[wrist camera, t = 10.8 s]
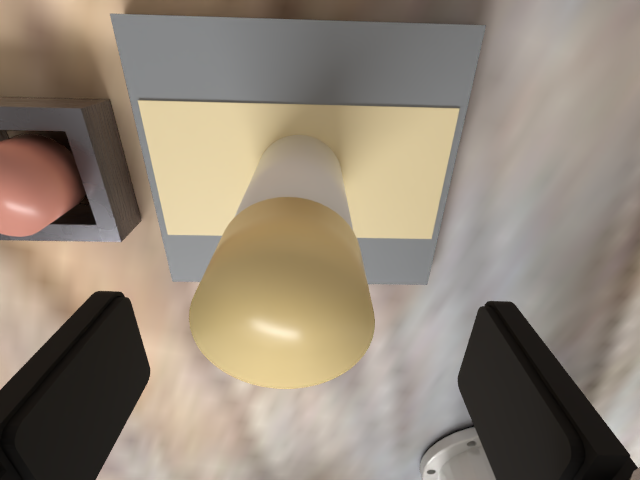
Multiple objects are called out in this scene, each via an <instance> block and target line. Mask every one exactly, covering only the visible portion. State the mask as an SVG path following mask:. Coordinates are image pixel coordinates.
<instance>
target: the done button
mask: <svg viewBox="0 0 640 480" xmlns="http://www.w3.org/2000/svg"><path fill="white" fill-rule="evenodd" d="M85 195H86V191H85V188H84V185H83V182H82V179H81V176H80V173H79V171H78V168H77V165H76V162H75V159H74V156H73V154H72V153H71V152H70V151H69V150H68V149H67V148H66V147H64V146H63V145H61V144H60V143H58V142H57V141H55V140H53V139H50V138H48V137H45V136H42V135H37V134H22V135H18V136H15V137H12V138H9V139H6V140H3V141H0V234H4V235H8V236H16V237H23V236H30V235H33V234H35V233H37V232H39V231H40V230H42V229H43V228H45V227H46V226H48V225H49V224H50V223H52V222H53V221H55V220H56V219H58V218H59V217H60V216H62V215H63V214H65V213H66V212H67V211H69V210H70V209H72V208H73V207H75V206H76V205H77V204H79V203H80V202H81V201H82V200H83V198H84V197H85Z"/></svg>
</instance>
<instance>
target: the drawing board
mask: <svg viewBox="0 0 640 480" xmlns="http://www.w3.org/2000/svg"><path fill="white" fill-rule="evenodd" d="M110 16H111V21H112V25H113V29H114V33H115V38H116V42H117V46H118V51H119V55H120V59H121V63H122V68H123V72H124V76H125V80H126V85H127V89H128V93H129V98H130V102H131V106H132V110H133V115H134V119H135V123H136V128H137V132H138V136H139V140H140V145H141V149H142V153H143V157H144V162H145V166H146V170H147V175H148V179H149V183H150V187H151V192H152V196H153V200H154V204H155V209H156V213H157V217H158V222H159V226H160V230H161V234H162V239H163V243H164V247H165V251H166V256H167V260H168V264H169V269H170V273H171V277H172V281H174V282H201V279H202V277H203V275H204V273H205V271H206V269H207V267H208V265H209V263H210V260H211V258H212V256H213V254H214V252H215V250H216V248H217V246H218V243H219V241H220V239H221V237H222V235H223V233H224V231H225V229H226V227H227V226H228V224H229V223H230V222H231V221H232V220H233V218H234V217H235V215H236V212H237V210H238V208H239V206H240V203H241V201H242V199H243V197H244V195H245V192H246V190H247V188H248V186H249V184H250V181H251V179H252V177H253V175H254V172H255V170H256V168H257V166H258V164H259V161H260V159H261V157H262V155H263V153H264V152H265V151H266V149H267V148H268V147H269V146H270V145H271V144H272V143H274V142H275V141H277V140H279V139H281V138H283V137H286V136H290V135H307V136H311V137H314V138H317V139H318V140H320V141H322V142H323V143H325V144H326V145H327V146H328V147H330V148H331V150H332V151H333V152H334V153H335V155H336V157H337V159H338V161H339V163H340V167H341V172H342V177H343V182H344V187H345V192H346V197H347V202H348V207H349V212H350V217H351V222H352V227H353V232H354V233H355V236H356V238H357V240H358V243H359V246H360V251H361V255H362V260H363V265H364V269H365V274H366V279H367V283H368V284H410V285H427V284H428V279H429V275H430V270H431V266H432V262H433V257H434V253H435V248H436V244H437V240H438V235H439V231H440V226H441V222H442V217H443V213H444V209H445V204H446V200H447V195H448V191H449V187H450V182H451V178H452V173H453V169H454V164H455V160H456V156H457V151H458V147H459V142H460V138H461V134H462V129H463V125H464V120H465V116H466V111H467V107H468V103H469V98H470V94H471V89H472V85H473V81H474V76H475V72H476V67H477V63H478V59H479V54H480V50H481V45H482V41H483V36H484V32H485V28H486V25H461V24H428V23H396V22H364V21H331V20H299V19H266V18H234V17H202V16H169V15H137V14H110Z"/></svg>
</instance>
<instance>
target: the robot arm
mask: <svg viewBox="0 0 640 480" xmlns="http://www.w3.org/2000/svg"><path fill="white" fill-rule="evenodd" d="M149 377H150V366H149V363H148V359H147V356H146V352H145V349H144V346H143V342H142V339H141V335H140V332H139V328H138V325H137V321H136V318H135V315H134V311H133V308H132V304H131V301H130V299H129V298H127V297H125V296H124V294H123V293H122V292H112V291H97V292H95V293H94V294H92V295H91V296H90V297H89V298H88V299H87V300H86V302H85V303H84V304H83V305H82V306H81V307H80V308H79V309H78V310H77V311H76V312H75V313H74V314H73V315H72V316H71V317H70V318H69V319H68V320H67V321H66V322H65V323H64V324H63V325H62V326H61V327H60V329H59V330H58V331H57V332H56V333H55V334H54V335H53V336H52V337H51V338H50V339H49V340H48V341H47V342H46V343H45V344H44V345H43V346H42V347H41V348H40V349H39V350H38V351H37V352H36V353H35V354H34V355H33V357H32V358H31V359H30V360H29V361H28V362H27V363H26V364H25V365H24V366H23V367H22V368H21V369H20V370H19V371H18V372H17V373H16V374H15V375H14V376H13V377H12V378H11V379H10V380H9V381H8V382H7V384H6V385H5V386H4V387H3V388H2V389H1V390H0V480H96V478H97V476H98V474H99V472H100V470H101V469H102V467H103V465H104V463H105V461H106V459H107V457H108V455H109V454H110V452H111V450H112V448H113V446H114V444H115V442H116V441H117V439H118V437H119V435H120V433H121V431H122V429H123V427H124V426H125V424H126V422H127V420H128V418H129V416H130V414H131V413H132V411H133V409H134V407H135V405H136V403H137V401H138V399H139V398H140V396H141V394H142V392H143V390H144V388H145V386H146V385H147V383H148V380H149ZM458 386H459V390H460V392H461V395H462V397H463V400H464V402H465V405H466V407H467V410H468V412H469V414H470V417H471V419H472V422H473V424H474V427H471V428H467V429H464V430H461V431H458V432H455V433H453V434H451V435H449V436H447V437H445V438H443V439H442V440H440V441H438V442H437V443H435V444H434V445H433V446H432V447H431V448H430V449H429V450H428V451H427V452H426V454H425V455H424V456H423V458H422V460H421V463H420V473H421V477H422V480H640V467H639V468H638V467H637V466H636V465H635V463H634V462H633V461H632V459H631V458H630V454H629V453H628V452H627V450H626V449H625V448H624V446H623V445H622V444H621V443H620V441H619V440H618V439H617V437H616V436H615V435H614V433H613V432H612V431H611V429H610V428H609V427H608V426H607V424H606V423H605V422H604V420H603V419H602V418H601V416H600V415H599V414H598V413H597V411H596V410H595V409H594V407H593V406H592V405H591V403H590V402H589V401H588V399H587V398H586V397H585V396H584V394H583V393H582V392H581V390H580V389H579V388H578V386H577V385H576V384H575V383H574V381H573V380H572V379H571V377H570V376H569V375H568V373H567V372H566V371H565V369H564V368H563V367H562V366H561V364H560V363H559V362H558V360H557V359H556V358H555V356H554V355H553V354H552V353H551V351H550V350H549V349H548V347H547V346H546V345H545V343H544V342H543V341H542V339H541V338H540V337H539V336H538V334H537V333H536V332H535V330H534V329H533V328H532V326H531V325H530V324H529V323H528V321H527V320H526V319H525V317H524V316H523V315H522V313H521V312H520V311H519V309H518V308H517V307H516V306H515V305H514V304H513V303H512V302H502V301H489V302H487V303H486V304H485V306H482V307H480V308H479V310H478V313H477V316H476V319H475V322H474V326H473V329H472V332H471V335H470V339H469V342H468V345H467V349H466V352H465V355H464V358H463V362H462V365H461V368H460V371H459V375H458Z"/></svg>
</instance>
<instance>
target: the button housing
mask: <svg viewBox="0 0 640 480" xmlns="http://www.w3.org/2000/svg"><path fill="white" fill-rule="evenodd" d="M6 130H33V131H65V132H66V135H67V138H68V141H69V144H70V147H71V150H72V153H73V156H74V159H75V162H76V165H77V168H78V171H79V173H80V176H81V179H82V182H83V185H84V188H85V191H86V194H87V197H88V200H89V203H90V205H81V204H77V205H76V206H75V207H73V208H72V209H70V210H69V211H67V212H66V213H65V214H63V215H62V216H60V217H59V218H58V219H56V220H55V221H53V222H52V223H50V224H49V225H48V226H46V227H45V228H43V229H42V230H40V231H39V232H37V233H35V234H33V235H30V236H23V237H16V236H8V235H4V234H0V240H29V241H94V242H122V241H123V240H124V239H125V237H126V236H127V235H128V234H129V233H130V232H131V231H132V230H133V229H134V228H135V227H136V226H137V225H138V224H139V223H140V222H141V217H140V214H139V210H138V206H137V202H136V198H135V194H134V191H133V187H132V183H131V179H130V175H129V171H128V168H127V164H126V160H125V156H124V152H123V149H122V145H121V141H120V137H119V133H118V129H117V126H116V122H115V118H114V114H113V110H112V106H111V103H110V100H100V99H60V98H21V97H0V141H3V140H6V139H9V137H8V135H7V133H6Z"/></svg>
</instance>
